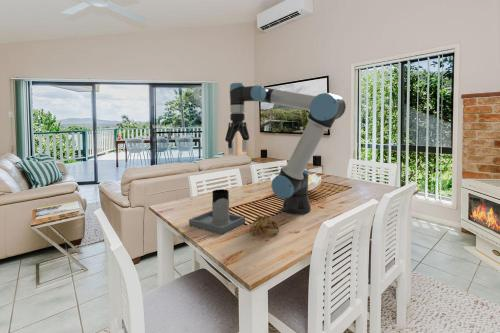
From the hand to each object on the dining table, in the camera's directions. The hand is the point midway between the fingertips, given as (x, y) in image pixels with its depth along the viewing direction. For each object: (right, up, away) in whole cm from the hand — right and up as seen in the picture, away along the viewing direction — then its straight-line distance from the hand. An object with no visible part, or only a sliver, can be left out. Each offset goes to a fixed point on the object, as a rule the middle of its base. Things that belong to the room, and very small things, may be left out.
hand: (238, 153), depth 161 cm
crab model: (+13, -37, -29) cm, 49 cm away
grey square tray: (-9, -35, -21) cm, 41 cm away
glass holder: (-8, -33, -18) cm, 39 cm away
